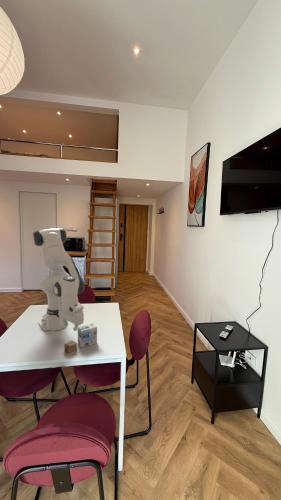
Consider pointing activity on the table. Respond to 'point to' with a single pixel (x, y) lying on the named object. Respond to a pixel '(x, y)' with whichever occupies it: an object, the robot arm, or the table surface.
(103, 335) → the table surface
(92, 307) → the table surface
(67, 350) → the walnut cube
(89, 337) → the light bulb box
